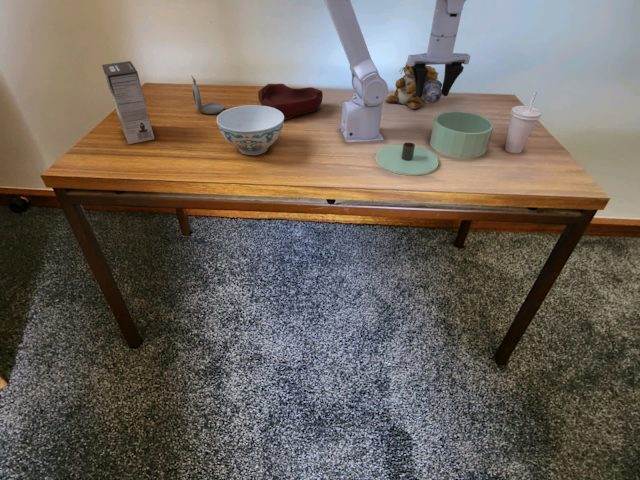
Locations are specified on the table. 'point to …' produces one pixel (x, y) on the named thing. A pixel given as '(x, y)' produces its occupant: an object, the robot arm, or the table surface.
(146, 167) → the table surface
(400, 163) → the lid
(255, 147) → the chinaware
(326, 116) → the table surface
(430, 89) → the seashell
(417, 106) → the stuffed squirrel
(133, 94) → the coffee box
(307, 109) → the dark red heart-shaped dish
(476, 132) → the crock
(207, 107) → the pocket watch
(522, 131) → the smoothie
